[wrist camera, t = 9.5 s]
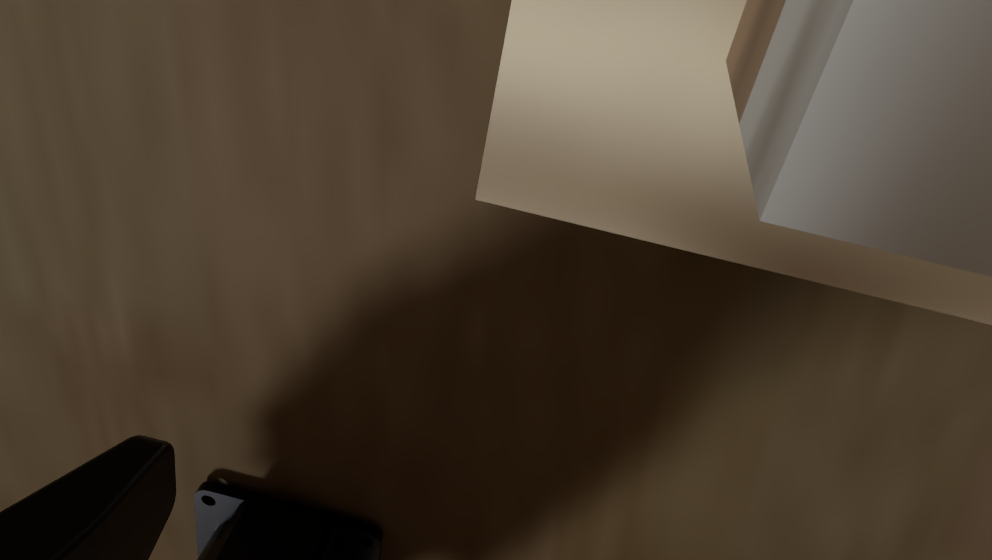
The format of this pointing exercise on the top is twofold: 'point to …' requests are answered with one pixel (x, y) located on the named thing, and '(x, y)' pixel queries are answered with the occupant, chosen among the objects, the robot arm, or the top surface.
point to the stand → (664, 147)
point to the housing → (871, 122)
